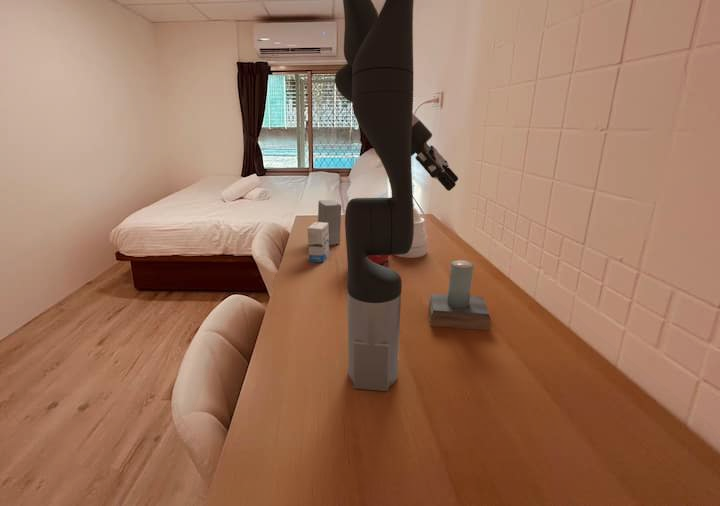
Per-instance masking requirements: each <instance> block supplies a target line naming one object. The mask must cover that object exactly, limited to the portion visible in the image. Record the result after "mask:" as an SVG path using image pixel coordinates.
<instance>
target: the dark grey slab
mask: <svg viewBox="0 0 720 506" xmlns="http://www.w3.org/2000/svg"><path fill="white" fill-rule="evenodd" d="M447 300H448V294H439V293H431V294H430V295H429V301H428V302H429V303H428V312H429V314H428V315H429V322H430V323H429V324H430V327H435V328H436V327H437V328H451V329H453V328H454V329H465V330H479V331H481V330H482V331H489V330H490V325H491V318H492V317H491V314H490V312H489V309H488V306H487V304H486V302H485V299H484V296H475V295H470V302H469V307H467V308H464V309H458V308H453V307H451V306H449V305H448V303H447Z"/></svg>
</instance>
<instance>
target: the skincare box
mask: <svg viewBox="0 0 720 506" xmlns="http://www.w3.org/2000/svg"><path fill="white" fill-rule="evenodd" d="M317 204H318V208H317V209H318V210H317V211H318V214H317V218H318V220H317V222H324V223H328V231H329V247H330V246H337V245H336V244H338V245H340V244H341V225H342V221H341V220H342V205H341V204H340V203H339V202H338V201H336V200H334V199H323V200H322V199H321V200H318V203H317Z"/></svg>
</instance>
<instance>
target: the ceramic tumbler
mask: <svg viewBox="0 0 720 506" xmlns="http://www.w3.org/2000/svg"><path fill="white" fill-rule="evenodd" d="M474 266H475V265H474V263H473V262H471V261H468V260H465V259H457V260H453V261H451V262H450V268H449V281H448V290H447V291H448V292H447V295H448V300H447V303H448V305H449V306H451V307H453V308H458V309H464V308H467V307H469V302H470V296H471V292H472V282H473V275H474Z"/></svg>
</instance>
